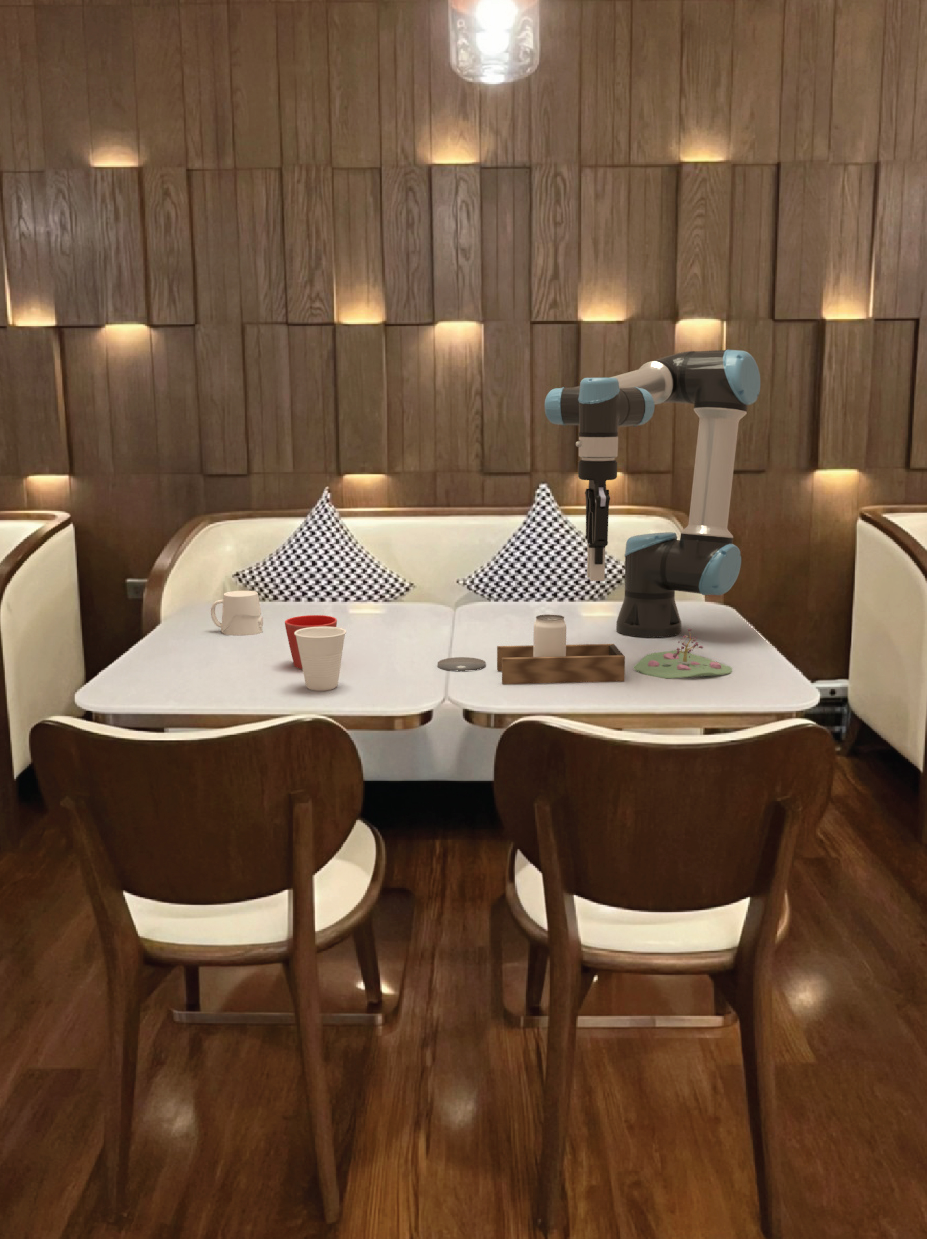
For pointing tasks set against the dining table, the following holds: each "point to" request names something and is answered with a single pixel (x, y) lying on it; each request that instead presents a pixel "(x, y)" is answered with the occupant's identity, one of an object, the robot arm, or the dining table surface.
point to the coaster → (461, 664)
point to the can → (549, 636)
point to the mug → (239, 613)
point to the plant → (680, 664)
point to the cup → (320, 656)
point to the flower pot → (301, 623)
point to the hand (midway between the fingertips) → (595, 578)
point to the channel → (561, 665)
